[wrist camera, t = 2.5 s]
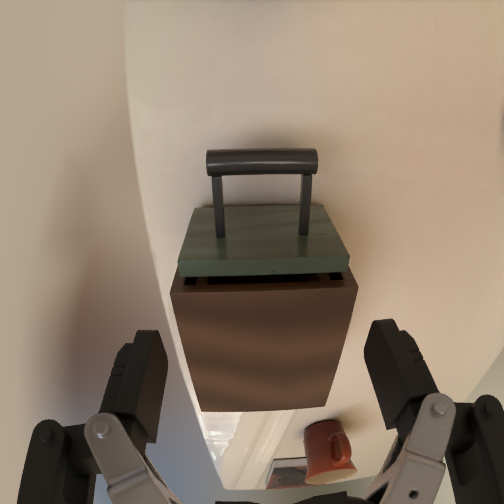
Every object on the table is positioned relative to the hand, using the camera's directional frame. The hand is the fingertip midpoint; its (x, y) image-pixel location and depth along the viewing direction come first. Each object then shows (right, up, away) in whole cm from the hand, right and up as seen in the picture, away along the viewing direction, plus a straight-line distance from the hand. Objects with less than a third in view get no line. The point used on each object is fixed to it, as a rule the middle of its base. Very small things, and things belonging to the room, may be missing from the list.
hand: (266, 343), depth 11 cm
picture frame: (+12, -51, +51) cm, 73 cm away
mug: (+12, -26, +36) cm, 46 cm away
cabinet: (0, 0, +19) cm, 19 cm away
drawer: (0, +4, +16) cm, 16 cm away
